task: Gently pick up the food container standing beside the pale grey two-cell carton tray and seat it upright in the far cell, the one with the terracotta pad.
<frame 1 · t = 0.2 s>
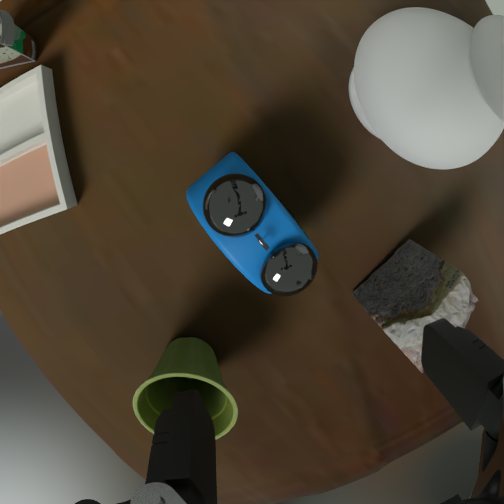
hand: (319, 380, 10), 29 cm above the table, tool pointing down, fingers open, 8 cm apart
geological specimen: (387, 276, 42), on the table
carton tray: (16, 155, 32), on the table
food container: (16, 46, 27), on the table
plant pot: (190, 355, 43), on the table
decorative vase: (392, 96, 35), on the table
alarm clock: (248, 209, 38), on the table
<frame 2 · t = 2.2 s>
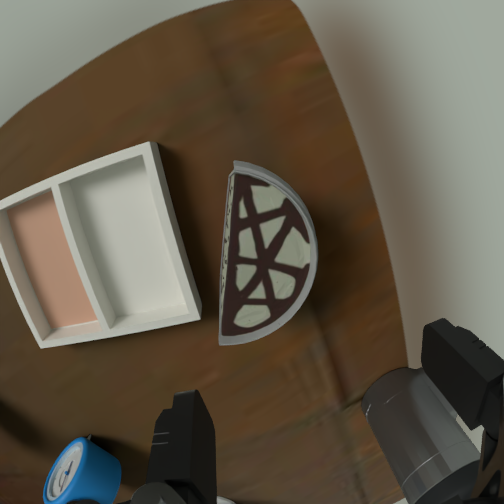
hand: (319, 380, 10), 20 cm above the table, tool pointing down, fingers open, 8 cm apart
carton tray: (90, 251, 28), on the table
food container: (257, 229, 29), on the table
alarm clock: (91, 447, 37), on the table
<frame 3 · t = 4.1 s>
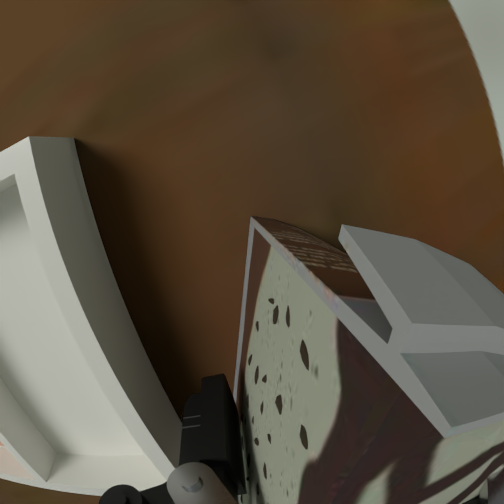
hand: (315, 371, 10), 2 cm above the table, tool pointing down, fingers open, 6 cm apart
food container: (313, 334, 13), on the table, touching gripper
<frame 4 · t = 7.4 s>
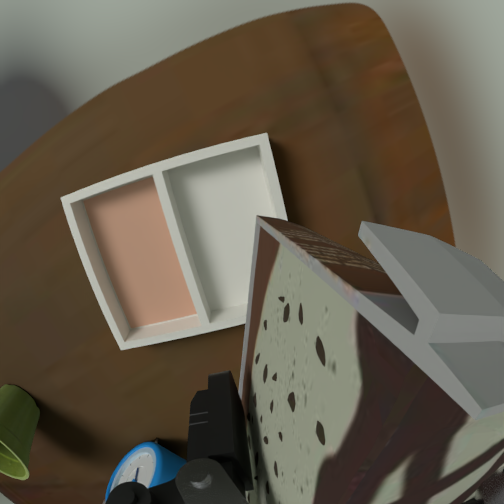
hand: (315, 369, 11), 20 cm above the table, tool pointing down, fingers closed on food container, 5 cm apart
carton tray: (185, 244, 29), on the table
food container: (318, 333, 13), point 18 cm above the table, touching gripper
plant pot: (22, 401, 35), on the table
alarm clock: (155, 452, 38), on the table
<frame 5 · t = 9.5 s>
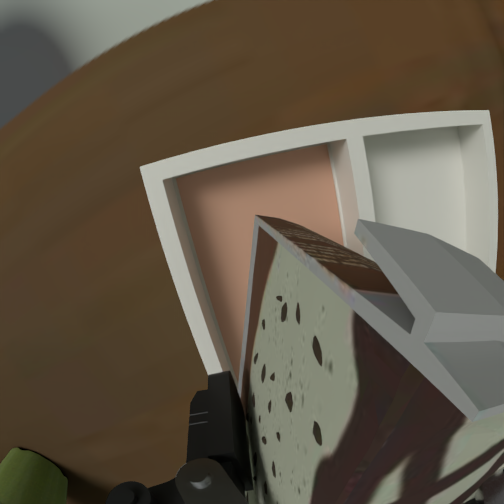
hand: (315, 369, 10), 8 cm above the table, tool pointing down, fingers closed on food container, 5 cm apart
carton tray: (351, 262, 18), on the table
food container: (317, 332, 13), point 5 cm above the table, touching gripper
plant pot: (40, 466, 23), on the table
when the fingers open (5 cm above the table, at t = 10.8 s): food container moves 1 cm, resting on carton tray.
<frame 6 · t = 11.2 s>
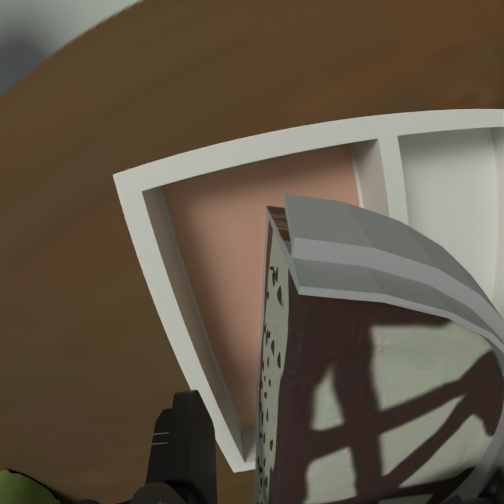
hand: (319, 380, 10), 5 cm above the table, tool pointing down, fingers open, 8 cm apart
carton tray: (373, 284, 15), on the table
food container: (329, 312, 14), point 1 cm above the table, touching carton tray, gripper
plant pot: (32, 487, 20), on the table
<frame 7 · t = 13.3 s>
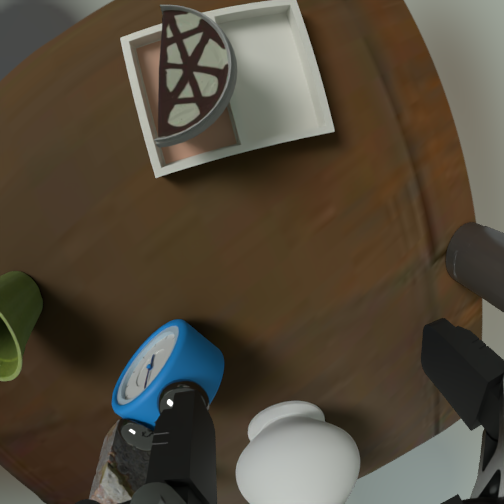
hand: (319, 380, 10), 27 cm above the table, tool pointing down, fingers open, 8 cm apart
geological specimen: (139, 439, 44), on the table
carton tray: (225, 82, 30), on the table
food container: (201, 90, 30), point 1 cm above the table, touching carton tray
plant pot: (23, 295, 35), on the table
decorative vase: (286, 426, 46), on the table
alarm clock: (171, 345, 39), on the table
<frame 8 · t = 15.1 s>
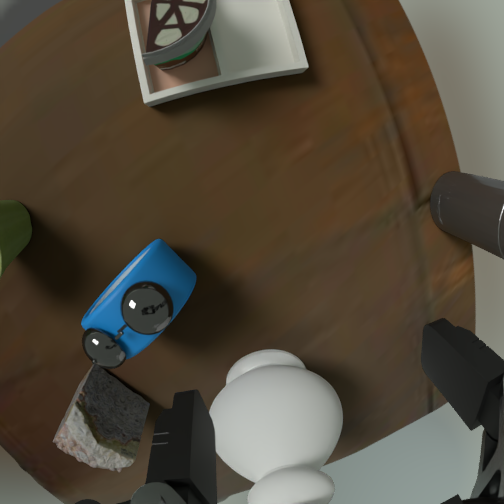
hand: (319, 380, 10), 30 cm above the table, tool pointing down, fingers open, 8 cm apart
geological specimen: (115, 387, 45), on the table
carton tray: (212, 29, 31), on the table
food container: (190, 35, 31), point 1 cm above the table, touching carton tray
plant pot: (15, 225, 36), on the table
decorative vase: (266, 380, 47), on the table
alarm clock: (150, 275, 40), on the table
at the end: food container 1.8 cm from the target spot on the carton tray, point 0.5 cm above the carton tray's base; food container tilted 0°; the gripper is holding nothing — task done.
